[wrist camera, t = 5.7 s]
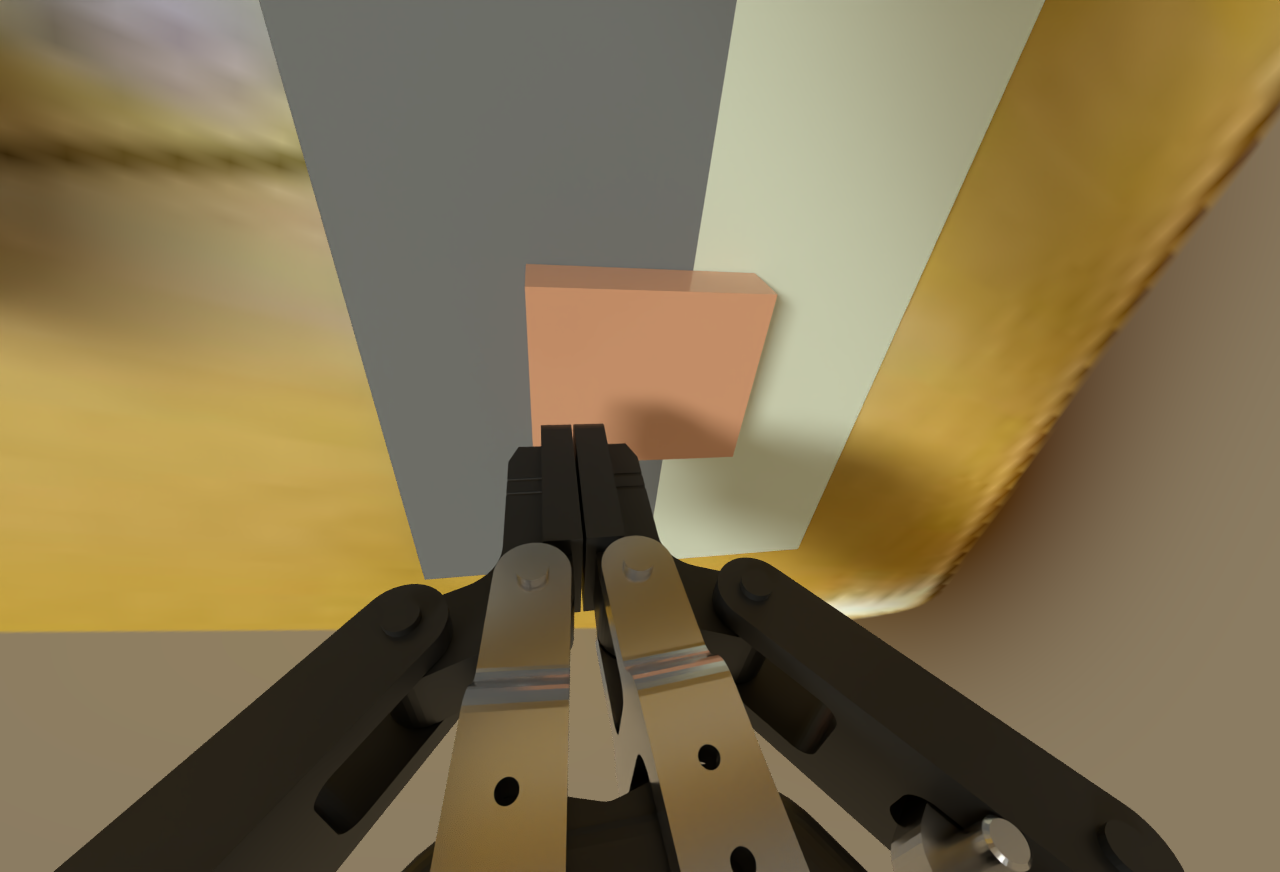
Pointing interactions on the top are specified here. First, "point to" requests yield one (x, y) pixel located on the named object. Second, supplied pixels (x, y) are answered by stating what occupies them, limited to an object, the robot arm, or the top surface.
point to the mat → (632, 214)
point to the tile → (646, 354)
